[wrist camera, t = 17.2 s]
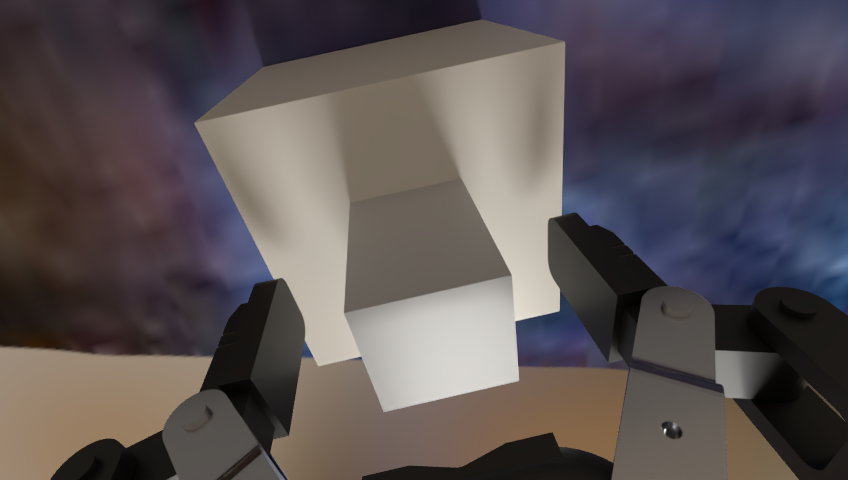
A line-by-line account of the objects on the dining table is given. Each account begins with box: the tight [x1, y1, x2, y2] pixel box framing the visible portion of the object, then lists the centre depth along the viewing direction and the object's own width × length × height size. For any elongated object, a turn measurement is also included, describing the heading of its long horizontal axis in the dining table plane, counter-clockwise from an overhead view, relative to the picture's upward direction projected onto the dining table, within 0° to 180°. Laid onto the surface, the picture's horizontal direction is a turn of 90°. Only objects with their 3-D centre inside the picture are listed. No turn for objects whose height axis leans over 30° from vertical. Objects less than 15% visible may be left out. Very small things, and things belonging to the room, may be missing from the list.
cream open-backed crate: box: [194, 19, 565, 412], centre depth 15 cm, size 10×10×14 cm
